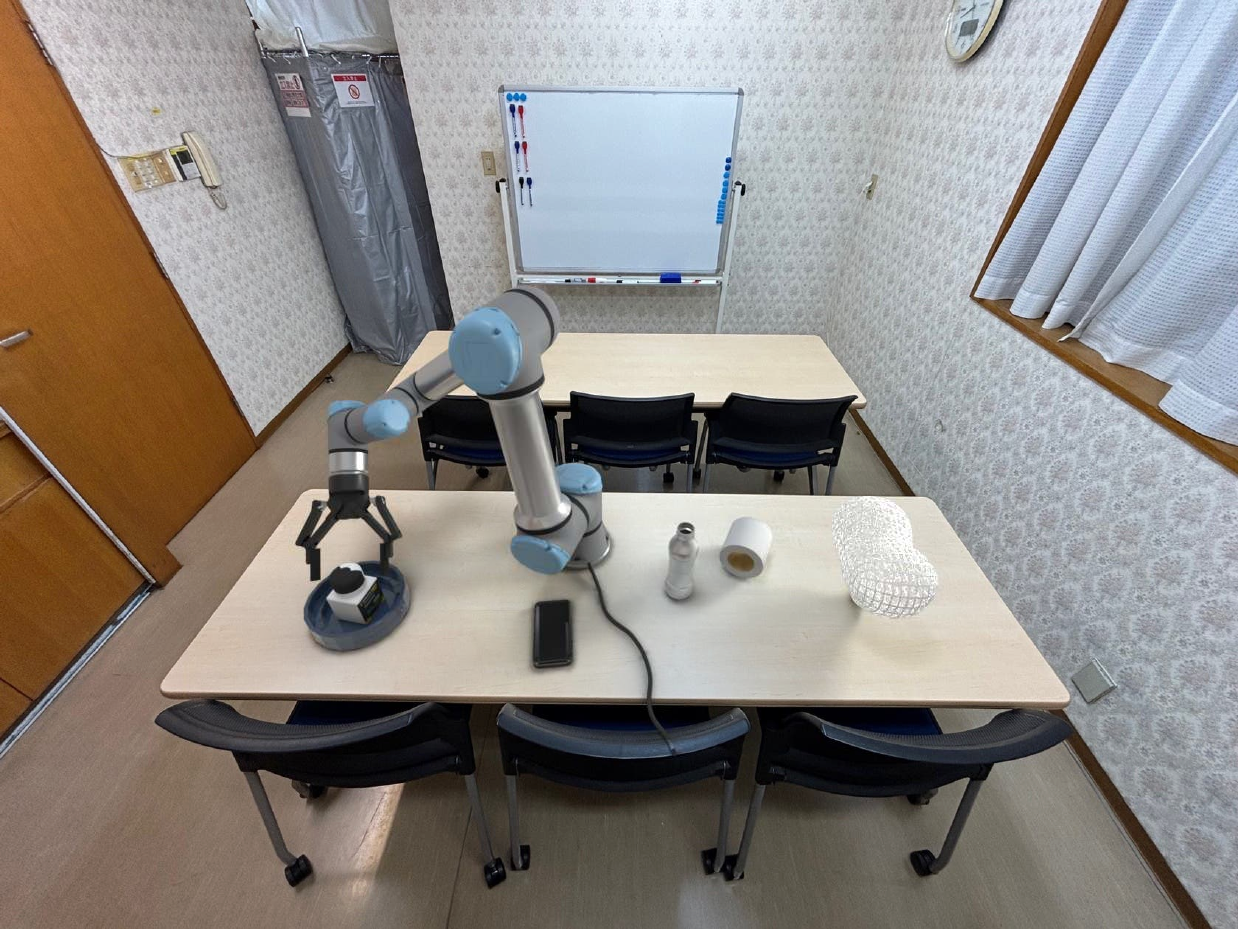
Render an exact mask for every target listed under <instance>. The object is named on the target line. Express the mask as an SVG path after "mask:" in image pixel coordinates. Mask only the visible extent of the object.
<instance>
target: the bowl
mask: <svg viewBox="0 0 1238 929" xmlns="http://www.w3.org/2000/svg"><path fill="white" fill-rule="evenodd" d="M355 563H356V564H358V565H359V566H360V567H361V569H362V571H363V573H364V575H365V576H371V577H376V578H377V580H378V582H379V585H380V587H381V589H382V591H383V594H384V596H385V600H384V601H383V603H382V604H381V605H380V607H379V608H378V610H377V611H376V613H375V614H374V615H373V617H372V618H371V620H370V621H369V623H368V624H367V625H365V624H360V623H355V622H350V621H345V620H340V619H337V617H336V616H335V614H334V612H333V610H332V608H331V606H330V605H329V603H328V601H327V599H326V598H327V597H328V595H329V594H330V593H331V592H332V590H333V588H332V586H331V584H330V582H329V576H330V574H329V575H327V576H326V577H325V578H323V579H322V580H320V582H319V583H317V585H315V587H314V588H313V590H312V591H311V592H310V593H309V594H308V597H306V598H307V599H306V601H305V603H304V606H303V621H304V623H305V625H306V626H307V628H308V630H309V631H310V633H311V634H312V637H313V638H314V639H315V641H316V642H317V643H318V644H320V645H321V646H323V647H325V648H326V649H330V650H336V651H350V650H357V649H361V648H363V647H366V646H369V645H372V644H374V643H376V642H378V641H379V640H381V639H383V638H384V637H386V636H388V635H389V634H390V633H391V632H392V631H393V630H394V629H395V628H396V627H397V626H399V624H400V623H401V622H402V621H403V619H404V617H405V615H406V614H407V612H408V610H409V607H410V603H411V594H410V589H409V586H408V583H407V580H406V577H405V576H404V573H402V571H401V570H400V569H399V568H398V567H397V566H396V565H393V564H392V563H390V562H389V574H387V575H380V560H373V559H372V560H365V561H364V560H363V561H358V562H355Z"/></svg>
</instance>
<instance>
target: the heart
mask: <svg viewBox="0 0 1238 929" xmlns="http://www.w3.org/2000/svg"><path fill="white" fill-rule="evenodd" d="M861 501H862V502H861ZM863 507H864V508H863ZM857 508H858V509H859V510H856V509H857ZM885 510H886V511H885ZM890 511H891V512H892V513H893V515H892V514H891V512H890ZM860 515H861V516H862V517H860ZM886 517H888V518H889V521H887V519H886ZM868 518H869V519H868ZM873 518H875V521H874V520H873ZM866 519H868V520H869V521H867V520H866ZM860 523H861V525H860ZM844 525H845V526H844ZM853 525H855V528H853ZM883 525H884V526H885V527H883ZM870 526H872V527H873V528H871V529H870ZM864 527H865V528H866V530H865V529H864ZM899 528H900V530H899ZM877 531H879V533H878V532H877ZM884 531H885V533H884ZM858 532H859V533H858ZM864 534H867V535H866V536H865V537H864ZM860 536H861V537H860ZM831 537H832V541H833V545H834V546H833V547H834V549H835V553H836V556H837V560H838V563H839V567H840V571H841V574H842V577H843V581H844V584H845V587H846V588H847V591H848V593H849V595H850V597H851V599H852V601H853V602H854V604H855V605H857V606H858V607H859V608H861V609H863V610H864V611H866V612H868V614H869V613H870V614H871V615H874V616H876V617H878V618H883V619H888V620H898V619H900V620H901V619H906V618H909V617H912V616H915V615H917V614H919V613H921V612H922V611H924V610H925V609H926V608H927V607H928V606H929V605H930V604H931V603H932V602H933V601H934V599H935V596H936V594H937V592H938V589H939V579H938V575H937V573H936V570H935V568H934V566H933V565H932V564H931V562H930V561H929V560H928V559H927V557H926V556H925V555H924V554H923V553H921V552H920V551H919V550H918V549H917V548H916V547H914V544H913V531H912V526H911V522H910V518H909V517H908V516H907V514H906V513H905V512H904V511H903V509H902V508H901V507H900V506H898V504H896V503H895V502H892V501H891V500H889V499H886V498H884V497H879V496H873V495H863V496H857V497H854V498H851V499H849V500H848V501H846V502H844V503H843V504H842V505H841V506H839V507H838V509H837V510H836V512H835V513H834V516H833V518H832V522H831ZM875 537H876V538H875ZM844 541H845V542H844ZM852 541H854V542H852ZM859 543H860V544H859ZM869 543H870V544H869ZM871 552H872V553H871ZM865 553H866V554H865ZM886 555H887V556H886ZM875 556H879V557H875ZM883 556H885V557H883ZM906 556H907V557H906ZM893 557H895V558H896V559H895V560H894V559H893ZM868 559H870V560H868ZM902 559H903V560H902ZM875 563H877V564H876V565H875ZM886 563H888V564H886ZM896 564H898V566H896ZM880 565H881V567H882V568H880V567H879V566H880ZM903 565H905V566H906V567H905V568H903ZM862 566H863V568H862ZM867 566H869V567H868V569H867ZM917 566H918V568H917ZM889 567H890V568H889ZM910 567H912V568H910ZM871 568H872V569H871ZM898 570H899V571H898ZM854 572H855V573H854ZM877 572H878V573H877ZM886 573H887V574H886ZM869 574H871V575H870V577H869ZM895 574H896V576H895ZM881 575H882V576H883V577H882V578H881V579H880V578H879V577H880V576H881ZM873 576H874V578H873ZM889 576H890V578H891V579H890V580H889V579H888V577H889ZM903 576H904V577H903ZM918 576H919V579H918ZM925 576H926V577H925ZM911 577H912V579H911ZM897 579H898V581H899V582H896V580H897ZM863 581H864V583H863ZM905 582H906V583H905ZM914 582H915V584H913V583H914ZM869 584H870V585H869ZM879 585H880V586H881V587H879V588H878V586H879ZM872 586H873V587H872ZM887 586H888V589H887ZM891 586H892V587H891ZM898 587H900V590H899V589H898ZM886 589H887V590H886ZM906 590H907V591H906ZM920 592H921V593H920ZM903 593H904V595H903ZM912 593H913V595H912V596H911V594H912ZM919 594H920V595H919ZM894 598H896V599H897V600H893V599H894ZM887 599H889V601H887ZM904 599H906V600H905V602H904V603H902V601H903V600H904ZM912 600H913V601H912ZM909 603H911V604H910V605H908V604H909ZM916 603H917V604H916Z"/></svg>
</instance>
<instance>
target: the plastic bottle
mask: <svg viewBox="0 0 1238 929" xmlns="http://www.w3.org/2000/svg"><path fill="white" fill-rule="evenodd" d="M695 533H696V527H695V525H694V524H693V523H691V522H689V521H682V522H680V523H679V524H678V525H677V527H676V531H675V534H674V535H673V536H672V537H671V538H670V540H669V542H668V545H667V546H668V547H667V550H668V570H667V573H666V576H665V579H664V589H665V592H666V595H668V596H669V597H670V598H672V599H674V600H684V599H687V598H689V596H690V595H691V594H692V592H693V590H694V587H695V584H694V583H695V582H694V566H695V562H696V560H697V557H698V554H699V550H700V545H699V542H698V540H697V538H696V537H695V535H696V534H695Z"/></svg>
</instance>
